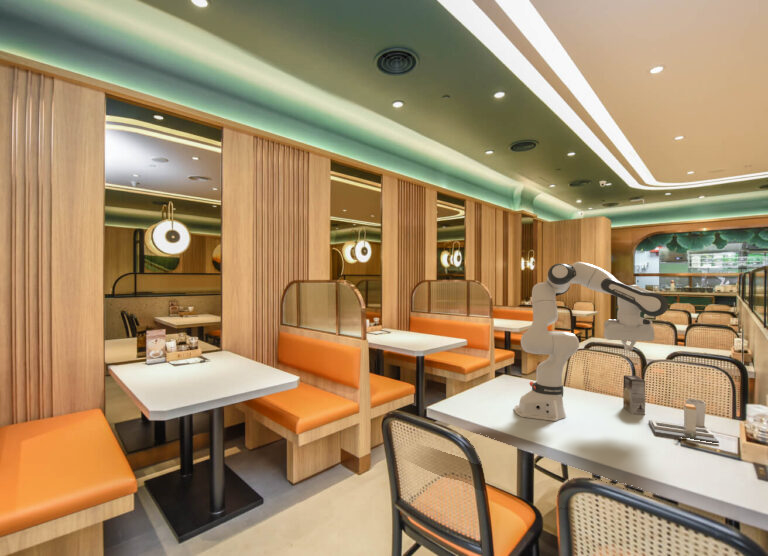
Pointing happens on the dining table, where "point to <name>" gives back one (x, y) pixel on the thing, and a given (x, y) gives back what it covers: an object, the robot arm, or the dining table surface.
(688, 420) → the fader
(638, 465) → the dining table surface
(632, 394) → the coffee box
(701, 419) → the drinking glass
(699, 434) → the console
